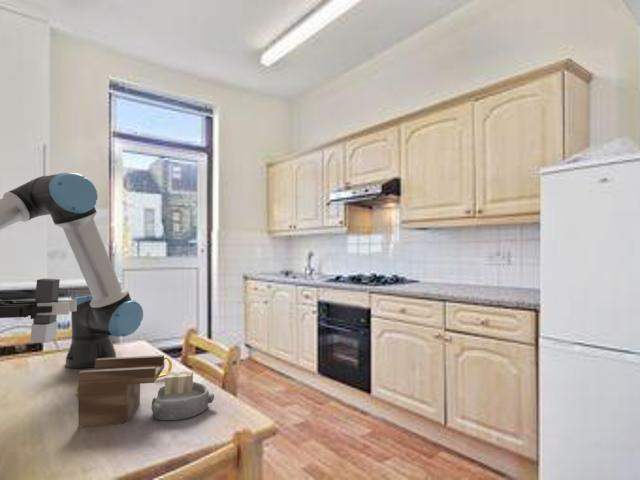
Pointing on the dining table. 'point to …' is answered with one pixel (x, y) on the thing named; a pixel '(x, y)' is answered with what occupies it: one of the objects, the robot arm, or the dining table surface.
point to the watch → (168, 368)
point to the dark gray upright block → (45, 324)
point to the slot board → (114, 388)
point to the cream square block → (185, 382)
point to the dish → (181, 403)
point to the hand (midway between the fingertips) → (72, 306)
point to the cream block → (171, 383)
